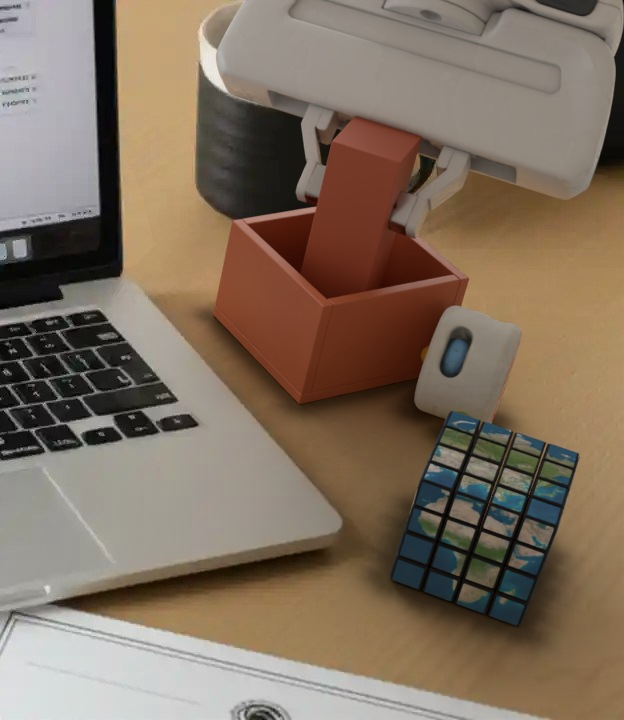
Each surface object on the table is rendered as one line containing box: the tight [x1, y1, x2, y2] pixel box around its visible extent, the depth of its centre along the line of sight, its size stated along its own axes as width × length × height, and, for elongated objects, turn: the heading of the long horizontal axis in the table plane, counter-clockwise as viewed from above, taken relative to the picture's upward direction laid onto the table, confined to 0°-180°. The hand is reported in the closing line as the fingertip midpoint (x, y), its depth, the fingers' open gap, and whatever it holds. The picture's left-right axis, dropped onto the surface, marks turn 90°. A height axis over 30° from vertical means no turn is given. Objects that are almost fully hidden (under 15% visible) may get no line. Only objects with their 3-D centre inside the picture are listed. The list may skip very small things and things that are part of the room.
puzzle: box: [389, 411, 581, 627], centre depth 75 cm, size 6×6×6 cm
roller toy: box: [413, 305, 523, 431], centre depth 85 cm, size 4×6×6 cm
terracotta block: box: [301, 116, 422, 299], centre depth 86 cm, size 4×4×9 cm
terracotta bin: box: [212, 206, 470, 405], centre depth 89 cm, size 9×9×6 cm
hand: (355, 216), depth 86 cm, fingers closed on terracotta block, 4 cm apart
